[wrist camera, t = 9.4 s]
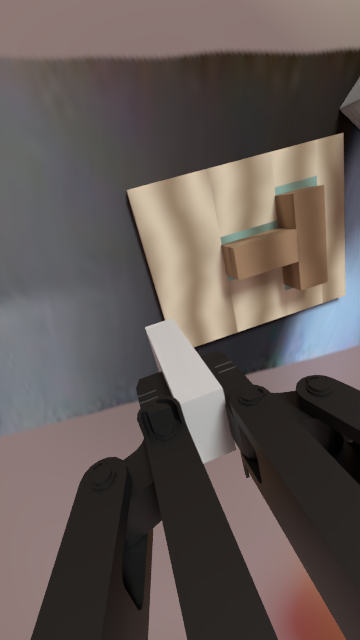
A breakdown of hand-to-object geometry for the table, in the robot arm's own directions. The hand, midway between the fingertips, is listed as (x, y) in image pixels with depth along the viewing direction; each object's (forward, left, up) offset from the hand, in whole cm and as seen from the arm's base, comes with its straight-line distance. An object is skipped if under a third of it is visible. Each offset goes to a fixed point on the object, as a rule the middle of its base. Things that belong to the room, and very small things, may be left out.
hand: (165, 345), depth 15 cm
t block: (+18, -2, -22) cm, 28 cm away
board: (+16, -2, -23) cm, 28 cm away
